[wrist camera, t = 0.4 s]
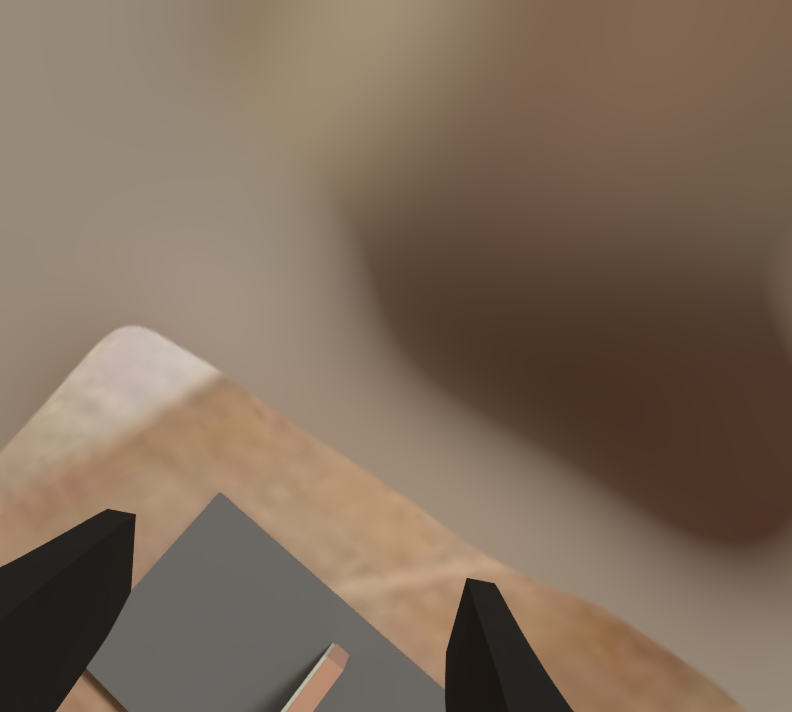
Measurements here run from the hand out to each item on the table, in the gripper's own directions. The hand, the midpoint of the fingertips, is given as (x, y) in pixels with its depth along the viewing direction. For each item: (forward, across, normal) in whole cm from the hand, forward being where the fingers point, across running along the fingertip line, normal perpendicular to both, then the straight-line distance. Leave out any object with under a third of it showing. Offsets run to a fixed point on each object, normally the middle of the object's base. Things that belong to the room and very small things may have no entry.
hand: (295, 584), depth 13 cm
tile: (+15, 0, +22) cm, 27 cm away
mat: (+16, +2, +21) cm, 27 cm away
